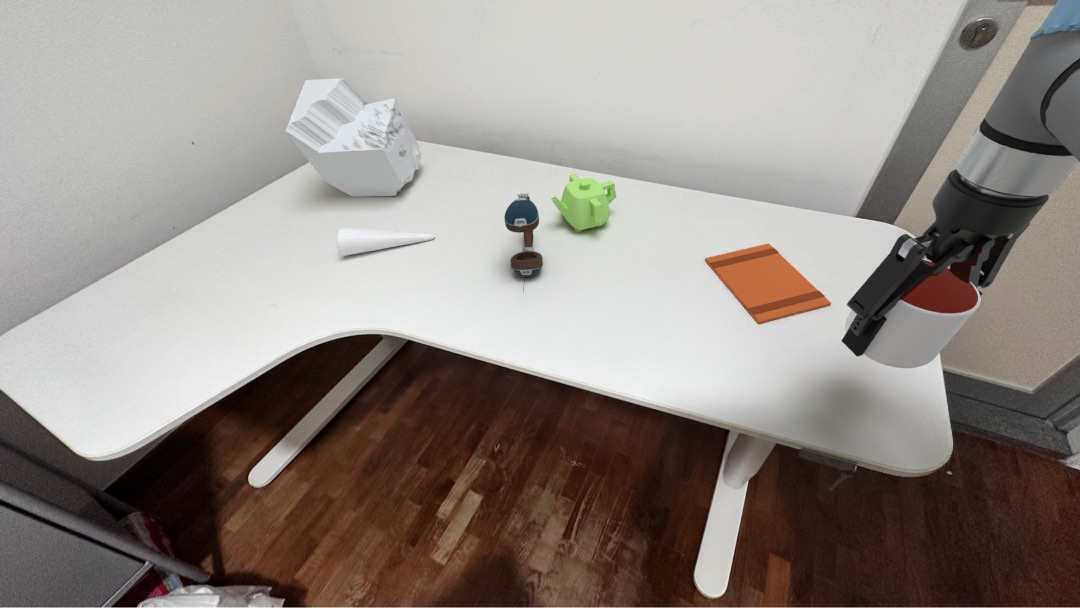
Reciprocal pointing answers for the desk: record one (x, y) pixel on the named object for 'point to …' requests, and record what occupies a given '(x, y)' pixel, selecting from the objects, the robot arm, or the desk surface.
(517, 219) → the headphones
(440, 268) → the desk surface
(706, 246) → the desk surface
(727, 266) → the towel
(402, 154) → the white faceted rock
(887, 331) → the cup
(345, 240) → the long cone
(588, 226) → the teapot
